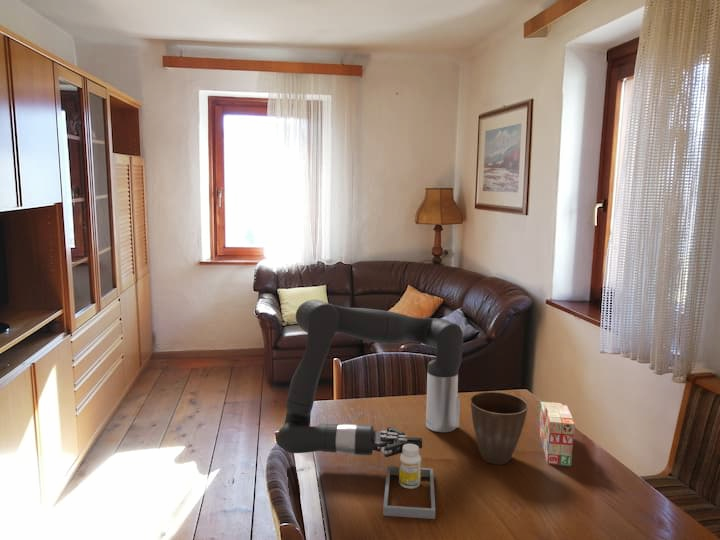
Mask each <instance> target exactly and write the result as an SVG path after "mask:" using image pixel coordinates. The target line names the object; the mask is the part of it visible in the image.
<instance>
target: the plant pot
mask: <svg viewBox="0 0 720 540" xmlns="http://www.w3.org/2000/svg"><path fill="white" fill-rule="evenodd" d="M528 406H529V405H528V402H526V401H525V399H523V398H521V397H518V396H516V395H514V394H513V395H512V394H510V393H505V392H499V391H498V392H497V391H485V392H480V393H476V394H474V395H472V396H471V398H470V408H471V409H470V411H471V418H472V426H473V429H474V434H475V439H476V443H477V447H478V449H479V452H480V455H481V458H482V459H483V460H484V461H486V462H487V463H490V464H493V465H504V464H507V463H509V461H510V460H511V458H512V456H513V454H514V452H515V449H516V448H517V445H518V443H519V441H520V437H521V434H522V431H523V428H524V424H525V422H526V418H527V417H526V416H527V413H528V410H529V408H528Z"/></svg>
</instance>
